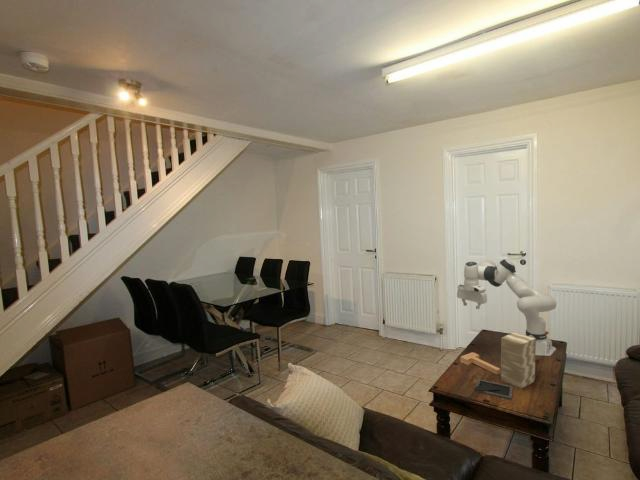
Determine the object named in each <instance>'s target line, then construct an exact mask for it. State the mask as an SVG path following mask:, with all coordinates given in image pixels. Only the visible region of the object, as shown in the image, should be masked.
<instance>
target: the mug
mask: <svg viewBox="0 0 640 480" xmlns="http://www.w3.org/2000/svg"><path fill="white" fill-rule="evenodd" d="M539 364H540V359H539V358H538V357H535V379H536V378H538V374H539Z"/></svg>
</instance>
